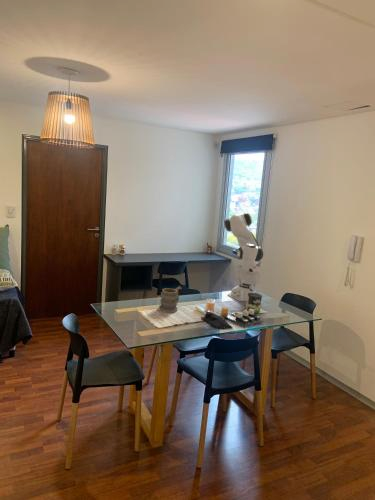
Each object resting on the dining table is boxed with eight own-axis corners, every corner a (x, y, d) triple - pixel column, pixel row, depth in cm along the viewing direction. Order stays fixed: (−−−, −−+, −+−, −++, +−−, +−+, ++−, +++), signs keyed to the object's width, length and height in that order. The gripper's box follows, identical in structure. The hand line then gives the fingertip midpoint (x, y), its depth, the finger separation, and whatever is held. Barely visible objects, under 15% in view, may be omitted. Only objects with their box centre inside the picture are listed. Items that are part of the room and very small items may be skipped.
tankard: (169, 314, 250) (171, 293, 247) (155, 308, 257) (157, 288, 254) (186, 308, 265) (188, 288, 263) (173, 303, 273) (175, 283, 270)
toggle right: (248, 313, 255) (249, 309, 254) (250, 312, 256) (251, 308, 256) (251, 314, 253) (252, 310, 252) (254, 314, 254) (254, 310, 254)
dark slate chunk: (213, 330, 230) (214, 323, 229) (199, 317, 250) (200, 311, 249) (234, 329, 236) (235, 322, 235) (219, 316, 256) (219, 310, 255)
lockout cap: (219, 316, 256) (220, 307, 255) (223, 314, 259) (224, 306, 258) (224, 318, 253) (225, 309, 252) (228, 317, 256) (229, 308, 255)
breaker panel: (224, 319, 251) (224, 313, 250) (242, 314, 265) (242, 308, 264) (243, 327, 239) (244, 321, 238) (261, 322, 253) (262, 316, 252)
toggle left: (236, 316, 246) (237, 312, 245) (238, 316, 247) (239, 311, 247) (240, 318, 243) (240, 313, 243) (242, 317, 245) (242, 313, 245)
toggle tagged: (242, 315, 250) (243, 310, 250) (244, 314, 252) (245, 309, 251) (246, 316, 248) (246, 311, 247) (248, 315, 250) (248, 311, 249)
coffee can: (262, 315, 266) (264, 297, 264) (250, 316, 262) (252, 297, 260) (254, 310, 276) (257, 292, 273) (242, 311, 272) (245, 292, 269)
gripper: (234, 264, 257) (232, 283, 260) (255, 271, 241) (253, 291, 243) (240, 263, 261) (238, 282, 263) (262, 270, 245) (259, 290, 247)
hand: (245, 286), depth 253 cm, fingers open, 8 cm apart
